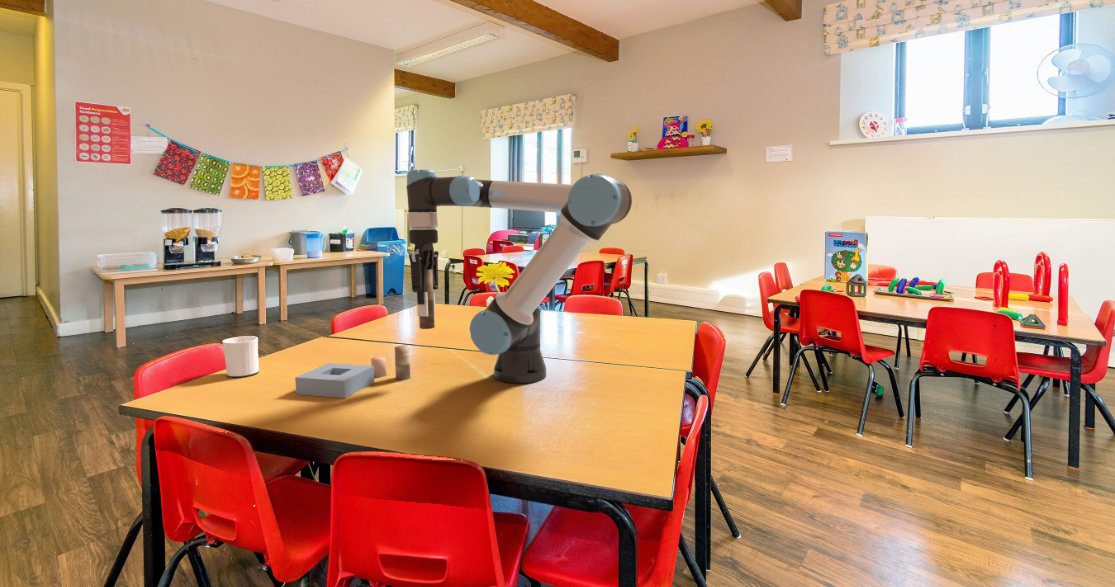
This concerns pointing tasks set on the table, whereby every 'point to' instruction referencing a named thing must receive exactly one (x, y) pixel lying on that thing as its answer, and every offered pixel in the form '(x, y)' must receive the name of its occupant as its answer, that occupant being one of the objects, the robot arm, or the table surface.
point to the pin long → (428, 321)
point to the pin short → (379, 366)
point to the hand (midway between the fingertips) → (426, 314)
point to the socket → (335, 380)
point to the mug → (241, 356)
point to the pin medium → (402, 362)
